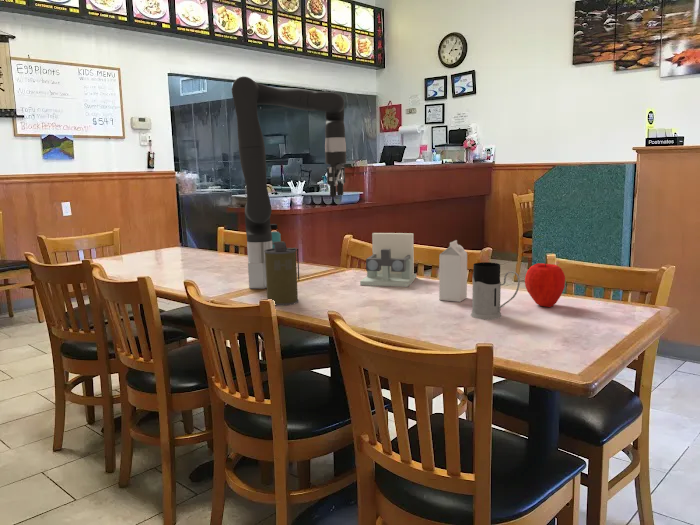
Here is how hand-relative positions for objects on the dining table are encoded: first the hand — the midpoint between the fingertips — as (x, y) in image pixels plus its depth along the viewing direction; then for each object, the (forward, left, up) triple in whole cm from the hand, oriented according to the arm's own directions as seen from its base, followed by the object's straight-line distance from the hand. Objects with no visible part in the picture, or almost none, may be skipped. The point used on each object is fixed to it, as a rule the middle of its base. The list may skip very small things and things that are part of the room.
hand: (336, 196), depth 208 cm
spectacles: (+9, -17, -28) cm, 34 cm away
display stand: (+9, -17, -33) cm, 38 cm away
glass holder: (-36, -58, -33) cm, 76 cm away
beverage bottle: (+27, +38, -33) cm, 57 cm away
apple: (-20, -72, -33) cm, 82 cm away
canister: (-30, +10, -33) cm, 46 cm away
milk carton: (-16, -44, -33) cm, 57 cm away
